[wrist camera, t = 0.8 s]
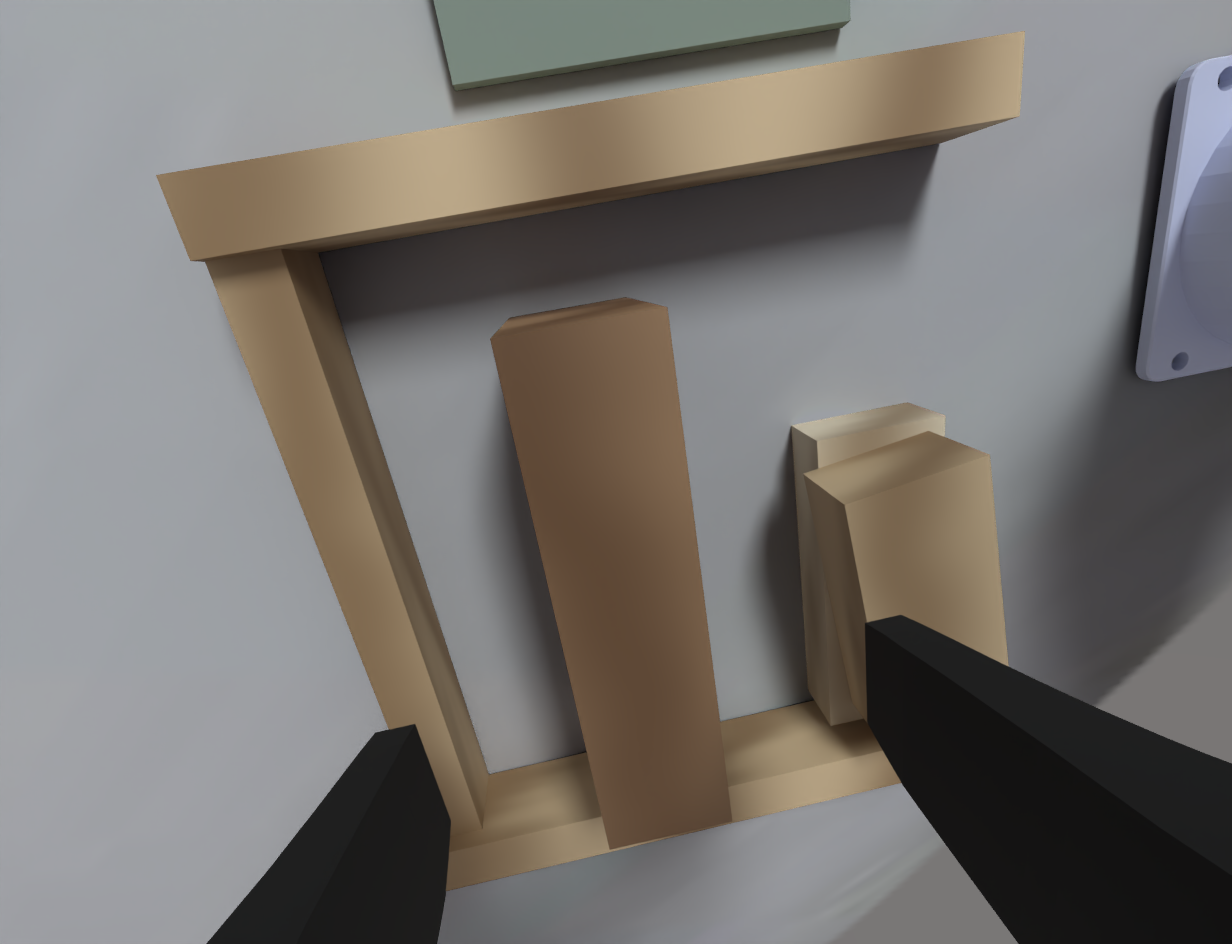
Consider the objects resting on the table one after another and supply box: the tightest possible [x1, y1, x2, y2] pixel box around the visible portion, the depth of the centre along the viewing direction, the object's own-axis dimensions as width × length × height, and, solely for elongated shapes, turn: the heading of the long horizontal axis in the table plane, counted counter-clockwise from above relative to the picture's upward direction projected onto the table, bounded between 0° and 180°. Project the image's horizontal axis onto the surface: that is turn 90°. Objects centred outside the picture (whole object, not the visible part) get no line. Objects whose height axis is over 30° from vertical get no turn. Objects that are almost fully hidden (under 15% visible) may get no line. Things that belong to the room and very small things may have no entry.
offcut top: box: [803, 431, 1009, 722], centre depth 15 cm, size 4×8×2 cm, turn 18°
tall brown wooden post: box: [490, 297, 732, 850], centre depth 14 cm, size 3×12×6 cm, turn 10°
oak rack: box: [156, 31, 1025, 891], centre depth 15 cm, size 17×20×2 cm
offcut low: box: [791, 403, 945, 726], centre depth 17 cm, size 4×10×2 cm, turn 10°
